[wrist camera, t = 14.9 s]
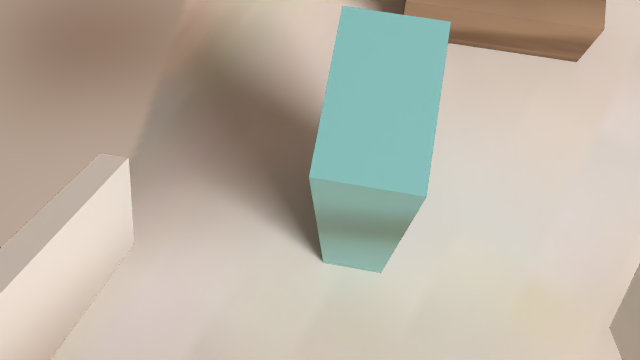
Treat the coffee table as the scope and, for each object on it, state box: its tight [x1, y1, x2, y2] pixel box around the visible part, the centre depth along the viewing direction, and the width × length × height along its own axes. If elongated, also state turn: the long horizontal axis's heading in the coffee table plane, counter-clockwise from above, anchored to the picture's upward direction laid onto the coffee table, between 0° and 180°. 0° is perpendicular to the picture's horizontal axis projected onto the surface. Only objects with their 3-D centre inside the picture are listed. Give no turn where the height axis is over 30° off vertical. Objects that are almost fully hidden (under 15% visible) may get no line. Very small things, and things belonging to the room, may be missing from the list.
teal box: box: [309, 6, 451, 273], centre depth 23 cm, size 5×3×16 cm, turn 170°
